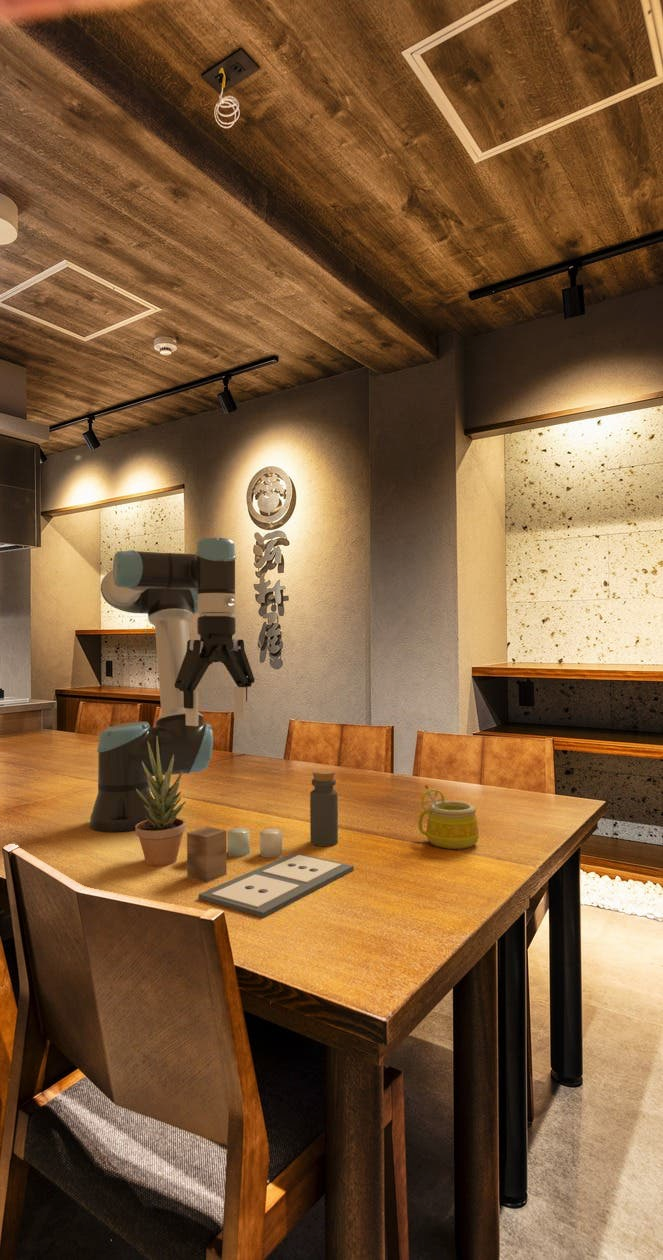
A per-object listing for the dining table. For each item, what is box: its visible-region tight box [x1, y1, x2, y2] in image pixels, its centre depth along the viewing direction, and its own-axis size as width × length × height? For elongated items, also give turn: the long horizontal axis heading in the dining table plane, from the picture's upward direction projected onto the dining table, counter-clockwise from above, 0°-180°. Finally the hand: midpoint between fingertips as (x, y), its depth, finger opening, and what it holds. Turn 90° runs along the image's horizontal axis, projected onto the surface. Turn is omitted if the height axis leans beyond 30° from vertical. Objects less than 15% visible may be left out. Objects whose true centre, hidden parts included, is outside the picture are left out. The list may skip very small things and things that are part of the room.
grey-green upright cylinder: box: [227, 827, 251, 858], centre depth 137 cm, size 4×4×4 cm
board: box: [198, 852, 354, 918], centre depth 119 cm, size 14×26×1 cm, turn 146°
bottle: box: [309, 769, 339, 847], centre depth 144 cm, size 6×6×15 cm
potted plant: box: [135, 737, 187, 867], centre depth 132 cm, size 10×10×25 cm
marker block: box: [186, 826, 228, 883], centre depth 124 cm, size 5×5×8 cm
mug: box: [417, 784, 480, 850], centre depth 143 cm, size 13×11×12 cm
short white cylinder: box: [259, 828, 283, 859], centre depth 136 cm, size 4×4×4 cm
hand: (217, 722), depth 135 cm, fingers open, 13 cm apart
